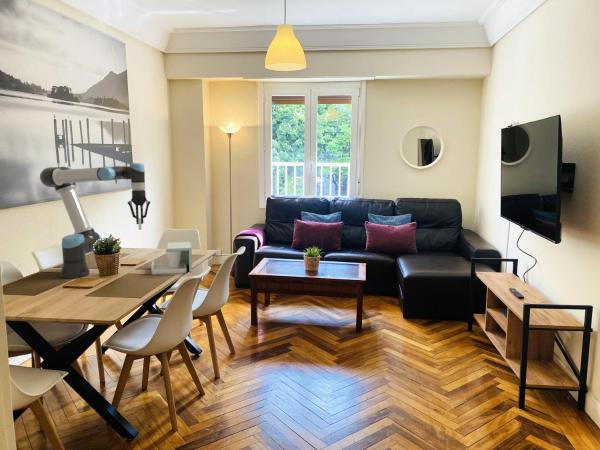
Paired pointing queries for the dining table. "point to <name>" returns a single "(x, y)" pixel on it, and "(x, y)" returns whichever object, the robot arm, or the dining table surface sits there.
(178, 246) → the pale green block
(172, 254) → the cup
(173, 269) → the tray
